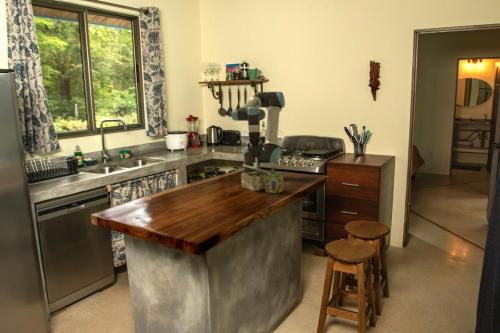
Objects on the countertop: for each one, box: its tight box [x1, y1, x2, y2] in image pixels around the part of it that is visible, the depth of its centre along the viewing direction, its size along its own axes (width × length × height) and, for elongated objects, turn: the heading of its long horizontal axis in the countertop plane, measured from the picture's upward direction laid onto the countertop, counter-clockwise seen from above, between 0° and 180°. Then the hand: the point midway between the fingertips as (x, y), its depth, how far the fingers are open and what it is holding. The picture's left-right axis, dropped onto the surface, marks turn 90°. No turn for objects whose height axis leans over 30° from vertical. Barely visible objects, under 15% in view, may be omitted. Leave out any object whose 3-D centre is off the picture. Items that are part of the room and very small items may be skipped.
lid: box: [241, 163, 271, 173], centre depth 256 cm, size 14×14×1 cm
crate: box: [240, 171, 267, 192], centre depth 257 cm, size 14×14×9 cm
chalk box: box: [264, 167, 284, 194], centre depth 245 cm, size 9×9×15 cm
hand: (255, 167), depth 256 cm, fingers closed
